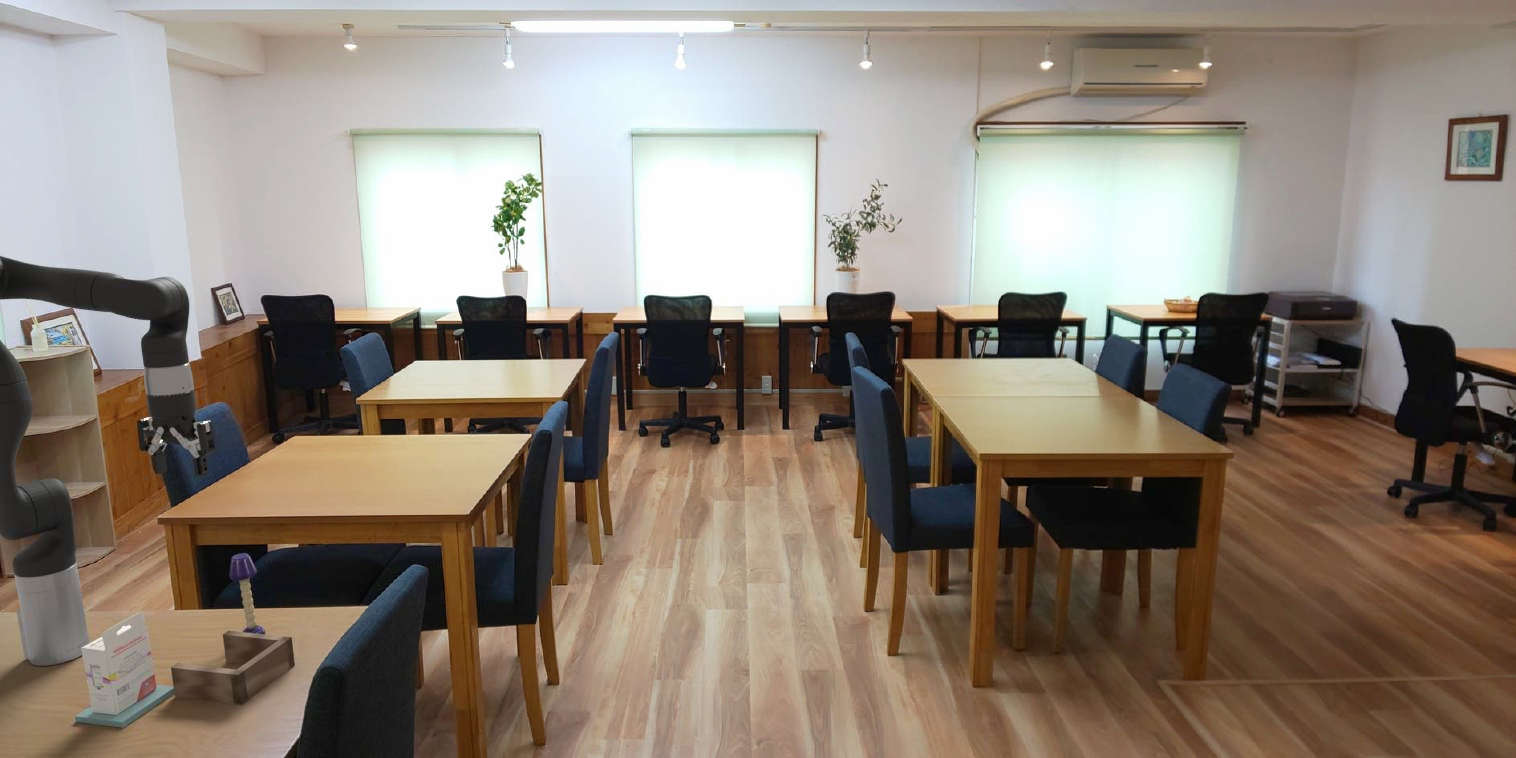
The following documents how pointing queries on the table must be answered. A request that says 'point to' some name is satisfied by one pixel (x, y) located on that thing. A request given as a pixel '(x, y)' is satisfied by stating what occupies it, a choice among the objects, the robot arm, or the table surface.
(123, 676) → the ink cartridge box
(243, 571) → the toy lamp
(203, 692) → the walnut cubby
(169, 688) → the teal coaster
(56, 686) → the table surface
